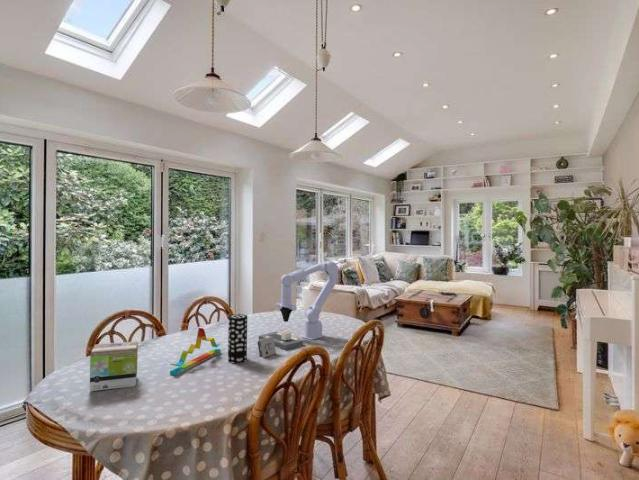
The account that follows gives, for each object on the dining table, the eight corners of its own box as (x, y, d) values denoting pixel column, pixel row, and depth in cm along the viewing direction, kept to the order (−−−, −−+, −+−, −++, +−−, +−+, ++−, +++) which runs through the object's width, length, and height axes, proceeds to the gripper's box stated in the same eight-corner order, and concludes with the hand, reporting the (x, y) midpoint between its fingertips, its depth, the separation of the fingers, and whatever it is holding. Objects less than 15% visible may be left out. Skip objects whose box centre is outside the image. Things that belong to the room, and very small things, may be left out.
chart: (176, 376, 148) (176, 339, 148) (170, 375, 149) (170, 338, 149) (221, 353, 177) (221, 322, 176) (215, 352, 178) (215, 321, 177)
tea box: (89, 393, 131) (89, 352, 131) (93, 382, 140) (93, 343, 140) (136, 386, 137) (136, 347, 137) (137, 376, 146) (138, 339, 146)
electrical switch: (263, 358, 170) (262, 340, 170) (256, 357, 173) (255, 339, 173) (276, 353, 177) (275, 336, 177) (269, 352, 180) (268, 335, 180)
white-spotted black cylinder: (250, 358, 169) (250, 315, 169) (240, 364, 162) (241, 319, 161) (234, 356, 172) (235, 313, 172) (224, 362, 164) (224, 317, 164)
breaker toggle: (287, 337, 193) (287, 330, 193) (291, 338, 191) (291, 331, 191) (281, 339, 190) (281, 331, 190) (285, 340, 188) (285, 333, 188)
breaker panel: (276, 336, 206) (276, 331, 206) (303, 345, 190) (303, 340, 190) (258, 340, 197) (258, 335, 197) (285, 350, 182) (285, 345, 182)
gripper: (272, 295, 203) (271, 320, 204) (289, 299, 193) (289, 325, 193) (282, 294, 208) (281, 318, 209) (299, 297, 198) (299, 322, 199)
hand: (285, 321), depth 201 cm, fingers closed
